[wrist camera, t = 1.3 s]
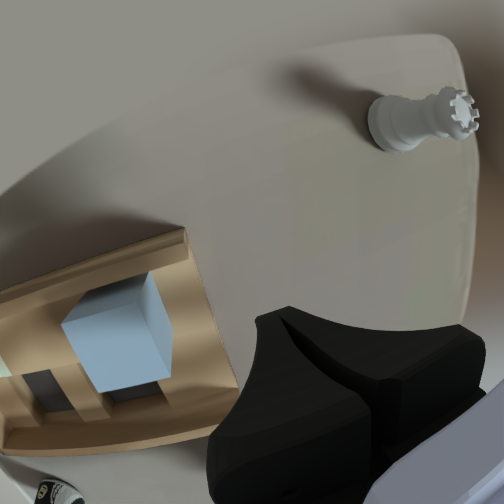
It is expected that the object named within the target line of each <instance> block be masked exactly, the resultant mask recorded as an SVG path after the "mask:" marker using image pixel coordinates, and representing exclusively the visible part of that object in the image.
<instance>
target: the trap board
mask: <svg viewBox="0 0 504 504" xmlns="http://www.w3.org/2000/svg"><path fill="white" fill-rule="evenodd" d="M148 271H151V273H152V276H153V278H154V281H155V284H156V286H157V289H158V292H159V295H160V297H161V300H162V302H163V305H164V308H165V310H166V313H167V315H168V318H169V320H170V323H171V325H172V328H173V342H172V361H171V377H169V378H165V379H161V380H157V381H153V382H148V383H144V384H140V385H135V386H131V387H126V388H122V389H117V390H112V391H107V392H102V393H98V391H97V390H96V388H95V386H94V385H93V383H92V382H91V380H90V378H89V376H88V375H87V373H86V371H85V370H84V368H83V366H82V364H81V363H80V361H79V359H78V357H77V355H76V353H75V352H74V350H73V348H72V346H71V344H70V342H69V340H68V338H67V336H66V334H65V332H64V330H63V328H62V326H61V323H62V322H63V320H64V319H65V318H66V317H67V315H68V314H69V313H70V312H71V310H72V309H73V308H74V307H75V305H76V304H77V303H78V302H79V300H80V299H81V298H82V297H83V296H84V294H85V293H86V292H87V291H88V290H91V289H95V288H98V287H101V286H104V285H107V284H110V283H113V282H117V281H120V280H123V279H126V278H129V277H133V276H136V275H139V274H142V273H145V272H148ZM240 394H241V393H240V390H239V386H238V383H237V380H236V377H235V374H234V372H233V369H232V366H231V364H230V361H229V358H228V356H227V353H226V350H225V347H224V345H223V342H222V339H221V336H220V333H219V331H218V328H217V325H216V322H215V319H214V316H213V314H212V311H211V308H210V305H209V302H208V299H207V296H206V293H205V290H204V287H203V284H202V281H201V278H200V275H199V272H198V269H197V265H196V262H195V259H194V256H193V253H192V250H191V246H190V243H189V240H188V237H187V233H186V230H185V227H184V228H180V229H177V230H174V231H171V232H168V233H164V234H161V235H158V236H155V237H152V238H149V239H146V240H143V241H139V242H136V243H133V244H130V245H127V246H124V247H121V248H118V249H115V250H112V251H109V252H106V253H103V254H101V255H98V256H95V257H92V258H89V259H86V260H83V261H80V262H78V263H75V264H72V265H69V266H66V267H64V268H61V269H58V270H55V271H53V272H50V273H47V274H44V275H42V276H39V277H36V278H34V279H31V280H28V281H26V282H23V283H21V284H18V285H15V286H13V287H10V288H8V289H5V290H3V291H0V452H1V453H2V454H3V455H8V456H32V457H54V456H79V455H93V454H104V453H114V452H122V451H130V450H137V449H144V448H150V447H156V446H161V445H167V444H172V443H177V442H182V441H186V440H191V439H195V438H200V437H204V436H208V435H210V434H211V433H212V432H213V431H214V430H215V429H216V427H217V426H218V425H219V424H220V423H221V422H222V421H223V420H224V418H225V417H226V416H227V415H228V413H229V412H230V410H231V409H232V407H233V406H234V404H235V403H236V401H237V399H238V398H239V396H240Z"/></svg>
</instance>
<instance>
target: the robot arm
mask: <svg viewBox="0 0 504 504" xmlns="http://www.w3.org/2000/svg"><path fill="white" fill-rule="evenodd" d="M255 324H256V327H257V344H256V351H255V356H254V361H253V365H252V368H251V371H250V374H249V377H248V379H247V382H246V384H245V386H244V388H243V390H242V392H241V394H240V396H239V398H238V399H237V401H236V403H235V404H234V406H233V407H232V409H231V410H230V412H229V413H228V415H227V416H226V417H225V418H224V420H223V421H222V422H221V423H220V424H219V425H218V426H217V427H216V429H215V430H214V431H213V432H212V433H211V434H210V437H209V443H208V449H207V466H206V472H207V481H208V487H209V494H210V496H211V498H212V500H213V502H214V503H215V504H504V379H503V380H502V381H501V382H500V383H499V384H498V385H497V386H496V387H495V388H493V389H492V390H491V391H490V392H489V393H488V394H486V392H485V391H483V390H482V389H481V388H480V387H479V384H480V380H481V376H482V372H483V368H484V363H485V356H486V349H485V343H484V341H483V340H482V338H481V337H480V336H478V335H476V334H475V333H473V332H471V331H470V330H468V329H466V328H465V327H463V326H461V325H460V324H457V325H451V326H446V327H440V328H434V329H427V330H415V331H382V330H371V329H364V328H358V327H352V326H347V325H343V324H340V323H336V322H332V321H329V320H326V319H323V318H320V317H317V316H314V315H312V314H309V313H306V312H304V311H301V310H299V309H296V308H294V307H291V306H287V307H284V308H281V309H279V310H276V311H273V312H270V313H267V314H264V315H261V316H258V317H256V319H255Z"/></svg>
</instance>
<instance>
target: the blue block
mask: <svg viewBox="0 0 504 504" xmlns="http://www.w3.org/2000/svg"><path fill="white" fill-rule="evenodd" d="M61 326H62V328H63V330H64V332H65V334H66V336H67V338H68V340H69V342H70V344H71V346H72V348H73V350H74V352H75V353H76V355H77V357H78V359H79V361H80V363H81V364H82V366H83V368H84V370H85V371H86V373H87V375H88V376H89V378H90V380H91V382H92V383H93V385H94V386H95V388H96V390H97V391H98V393H102V392H107V391H112V390H117V389H122V388H126V387H131V386H135V385H140V384H144V383H148V382H153V381H157V380H161V379H165V378H169V377H171V361H172V342H173V328H172V325H171V323H170V320H169V318H168V315H167V313H166V310H165V308H164V305H163V302H162V300H161V297H160V295H159V292H158V289H157V286H156V284H155V281H154V278H153V276H152V273H151V271H148V272H145V273H142V274H139V275H136V276H133V277H129V278H126V279H123V280H120V281H117V282H113V283H110V284H107V285H104V286H101V287H98V288H95V289H91V290H88V291H87V292H86V293H85V294H84V296H83V297H82V298H81V299H80V300H79V302H78V303H77V304H76V305H75V307H74V308H73V309H72V310H71V312H70V313H69V314H68V315H67V317H66V318H65V319H64V320H63V322H62V323H61Z"/></svg>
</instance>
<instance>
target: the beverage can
mask: <svg viewBox="0 0 504 504" xmlns="http://www.w3.org/2000/svg"><path fill="white" fill-rule="evenodd" d="M34 504H85V500H84V498H83V496H82V495H81V494H80V493H79V492H78V491H77V490H76V489H75V488H73V487H72V486H70V485H68V484H66V483H64V482H62V481H59V480H48V479H47V480H42V481H41V482H40V485H39V489H38V492H37V495H36V499H35V503H34Z"/></svg>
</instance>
